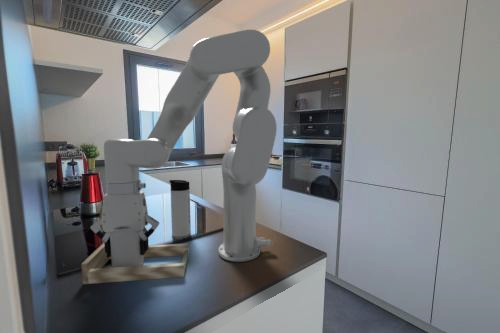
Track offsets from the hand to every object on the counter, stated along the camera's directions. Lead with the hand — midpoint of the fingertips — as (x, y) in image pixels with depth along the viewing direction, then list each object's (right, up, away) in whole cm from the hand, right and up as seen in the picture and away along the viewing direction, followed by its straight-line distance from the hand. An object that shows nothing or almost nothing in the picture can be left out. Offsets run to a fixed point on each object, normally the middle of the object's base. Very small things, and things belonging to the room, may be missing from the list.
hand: (127, 253), depth 64 cm
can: (0, -4, +1) cm, 4 cm away
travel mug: (+8, -2, +21) cm, 22 cm away
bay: (+4, -4, +1) cm, 5 cm away
